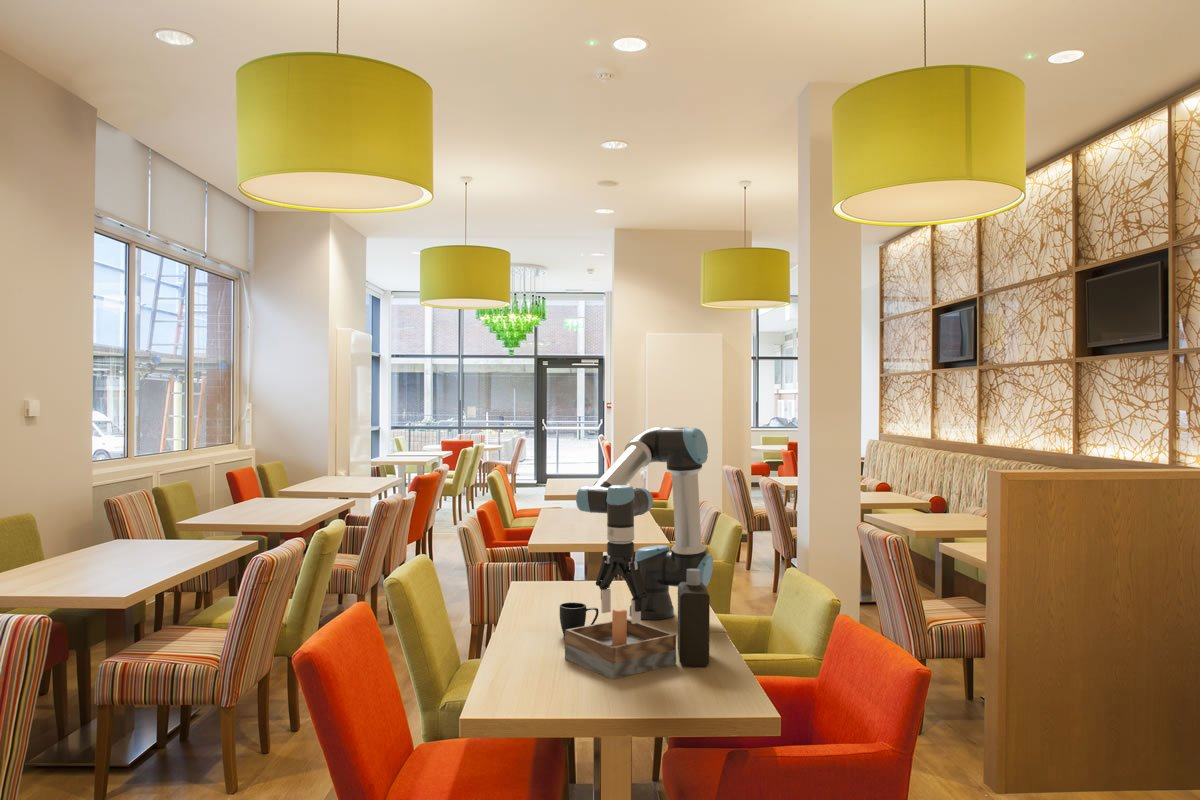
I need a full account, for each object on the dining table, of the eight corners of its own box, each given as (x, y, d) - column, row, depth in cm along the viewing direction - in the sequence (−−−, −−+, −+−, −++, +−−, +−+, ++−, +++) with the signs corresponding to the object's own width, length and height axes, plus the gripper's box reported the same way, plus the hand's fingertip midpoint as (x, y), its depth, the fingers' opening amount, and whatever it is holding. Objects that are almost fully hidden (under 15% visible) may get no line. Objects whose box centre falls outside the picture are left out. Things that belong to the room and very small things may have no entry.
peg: (620, 658, 232) (620, 608, 232) (629, 661, 228) (629, 611, 228) (609, 660, 229) (609, 610, 229) (618, 664, 226) (618, 613, 226)
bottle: (680, 667, 224) (680, 575, 224) (677, 650, 240) (677, 564, 240) (709, 668, 223) (710, 575, 223) (704, 650, 239) (705, 564, 239)
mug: (596, 641, 249) (596, 609, 249) (557, 639, 250) (557, 607, 250) (599, 633, 257) (600, 603, 257) (561, 632, 258) (562, 601, 258)
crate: (626, 645, 244) (626, 618, 244) (675, 664, 226) (676, 634, 226) (564, 658, 231) (565, 629, 231) (612, 679, 213) (612, 648, 213)
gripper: (583, 536, 237) (583, 610, 237) (638, 549, 217) (638, 629, 217) (604, 533, 241) (604, 606, 241) (660, 546, 221) (660, 625, 221)
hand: (620, 617), depth 229 cm, fingers open, 13 cm apart
